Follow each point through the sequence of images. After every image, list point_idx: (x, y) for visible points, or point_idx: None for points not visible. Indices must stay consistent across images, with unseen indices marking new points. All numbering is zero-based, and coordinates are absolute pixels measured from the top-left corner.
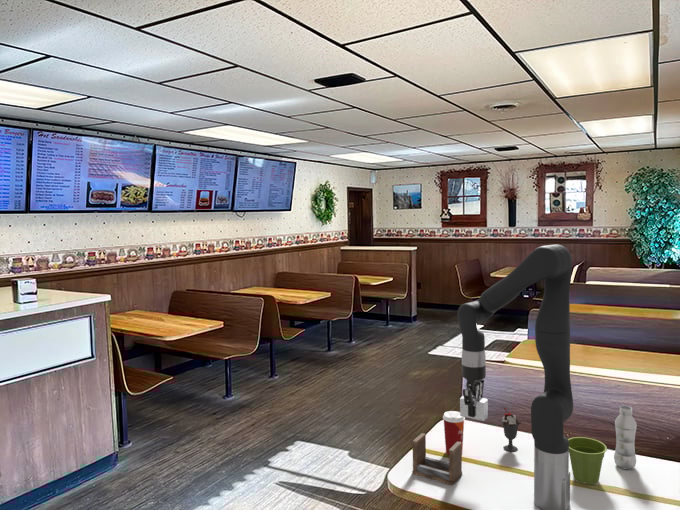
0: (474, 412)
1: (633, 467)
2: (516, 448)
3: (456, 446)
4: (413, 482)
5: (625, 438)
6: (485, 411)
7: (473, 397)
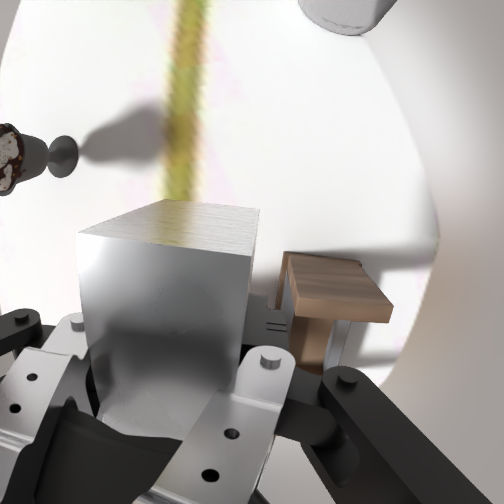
0: (265, 313)
1: None
2: (58, 140)
3: (348, 306)
4: (371, 354)
5: None
6: (208, 216)
7: (272, 440)
